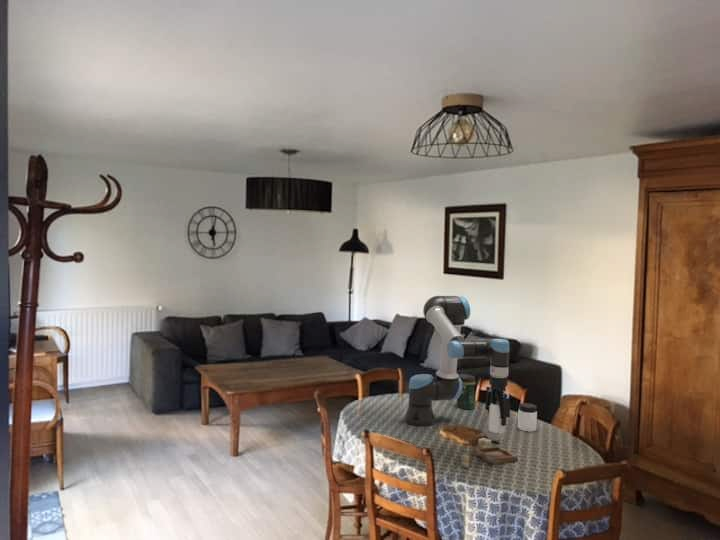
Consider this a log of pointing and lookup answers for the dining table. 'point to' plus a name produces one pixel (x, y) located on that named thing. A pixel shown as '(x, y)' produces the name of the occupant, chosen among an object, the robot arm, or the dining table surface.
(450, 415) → the dining table surface
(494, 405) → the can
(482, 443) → the beech block
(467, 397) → the coffee jar
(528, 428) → the jar
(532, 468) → the dining table surface
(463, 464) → the cork
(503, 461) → the walnut tray
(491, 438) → the white round disc
